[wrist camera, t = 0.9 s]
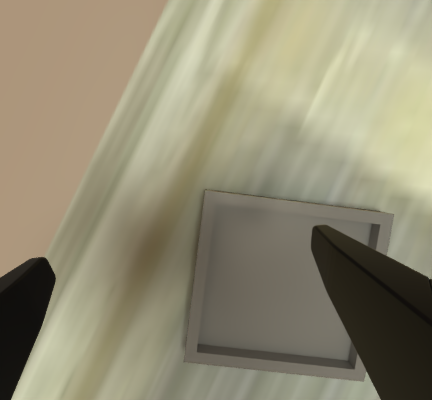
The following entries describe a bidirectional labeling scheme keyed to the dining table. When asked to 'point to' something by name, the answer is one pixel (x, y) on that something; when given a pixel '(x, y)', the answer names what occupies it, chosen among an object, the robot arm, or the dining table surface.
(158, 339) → the dining table surface
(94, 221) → the dining table surface
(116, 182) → the dining table surface
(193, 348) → the tray
